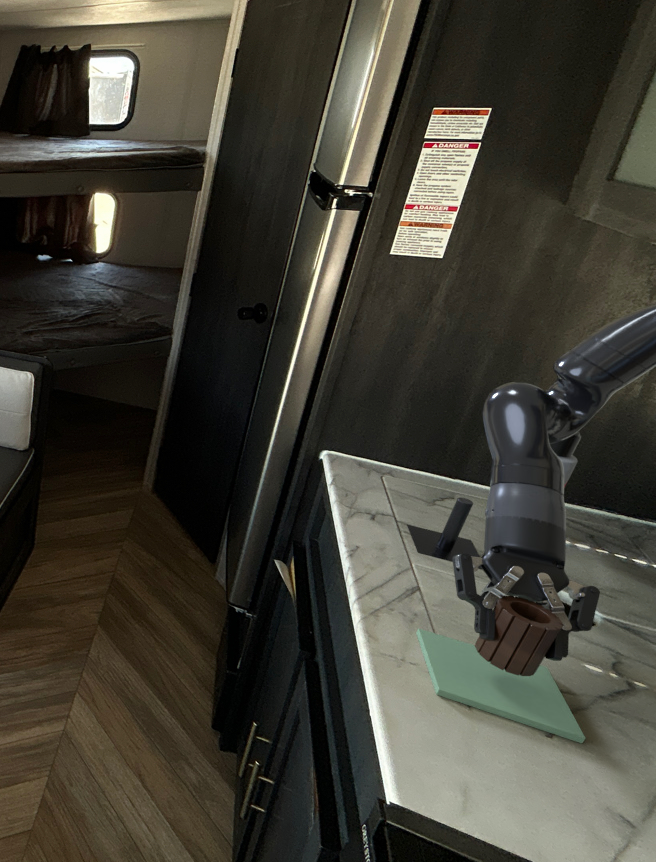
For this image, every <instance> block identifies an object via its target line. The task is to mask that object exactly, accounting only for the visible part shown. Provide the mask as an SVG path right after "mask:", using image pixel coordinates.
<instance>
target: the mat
mask: <svg viewBox="0 0 656 862" xmlns="http://www.w3.org/2000/svg"><path fill="white" fill-rule="evenodd" d="M415 633H416V637H417V640H418V643H419V646H420V649H421V652H422V655H423V658H424V661H425V664H426V668H427V670H428V673H429V676H430V680H431V683H432V685H433V688H434V691H435V694H436V695H437V696H440V697H442V698H445V699H449V700H451V701H455V702H458V703H461V704H463V705H466V706H469V707H472V708H474V709H478V710H481V711H484V712H487V713H490V714H492V715H496V716H499V717H501V718H505V719H508V720H511V721H514V722H517V723H519V724H523V725H525V726H529V727H532V728H535V729H537V730H541V731H544V732H546V733H550V734H552V735H555V736H558V737H562V738H564V739H567V740H570V741H574V742H576V743H579V744H583V743H584V742H585V740H586V736H585V733H584V732H583V731H582V729H581V727H580V725H579V723H578V722H577V720H576V718H575V716H574V714H573V712H572V710H571V709H570V706H569V705H568V703H567V701H566V699H565V697H564V696H563V694H562V692H561V690H560V687H559V686H558V684H557V682H556V681H555V679H554V677H553V675H552V674H551V671H550V670H549V668H548V667H547V666H545V665H542V664H540V666H539V668H538V669H537V671H536V672H535V674H534V675H531V676H521V675H519V676H518V675H515V674H511V673H508V672H506V671H505V669H504V670H501V669H499V668H497V667H496V666H494V665H492V664H490V663H491V662H487V661H486V660H485V659H484V658H483V657H482V656H481V655H480V654H479V653H478V652H477V650H476V648H475V644H472V643H468V642H465V641H462V640H459V639H455V638H452V637H449V636H445V635H443V634H442V635H441V634H438V633H435V632H433V631H429V630H426V629H422V628H417V631H416V632H415Z"/></svg>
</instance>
